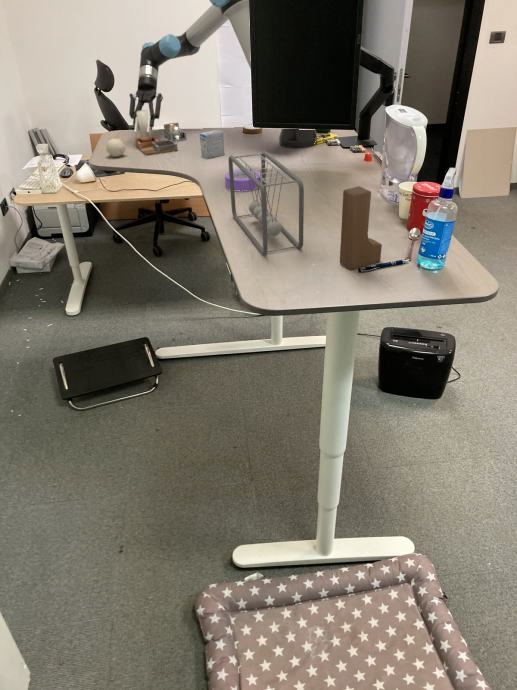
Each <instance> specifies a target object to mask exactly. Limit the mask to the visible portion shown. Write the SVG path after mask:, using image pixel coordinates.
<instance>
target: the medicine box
mask: <svg viewBox="0 0 517 690" xmlns="http://www.w3.org/2000/svg"><path fill="white" fill-rule="evenodd" d="M199 141H200V152H201V153H200V154H201V157H202V158H204V159H206V158H207V160H209V159H213V158H216V156H217V157H220V155H221V156H223V155H224V156H225V146H224V145H225V144H224V132H223V131H221V130H220V129H219V130H218V129H215V130H210V131H205V132H201V133H199ZM212 157H213V158H212Z"/></svg>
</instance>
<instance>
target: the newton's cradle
mask: <svg viewBox="0 0 517 690" xmlns="http://www.w3.org/2000/svg"><path fill="white" fill-rule="evenodd" d="M253 156H258V157H260V162H261V163H260V164H257V166H260V165H261V168H258V169H253V168H252V166H254V164H252V165H249V164H248V162H250V160H247V161H245V160H244V159H242V158H246V157H253ZM238 159H239V160H240V161H241V162H242V163H244V165H245V166H244V165H243V164H242V163H241V162H240V161H239V160H238ZM267 159H268V160H267ZM255 161H258V159H256V160H253V162H255ZM233 163H234V164H233ZM272 163H273V164H272ZM234 165H236V166H237V167H238V168H239V170H242V171H243V172H244V173H245V174H246V175H247V176H248V178H250V179H251V180H252V181H253V185H254V183H255V184H256V185H257V187H258V189H257V191H256V189H255V186H254V189H255V190H254V193H255V196H256V200H255V196H254V193H253V190H252V188H251V191H250V192H251V195H252V198H253V200H252V201H251V202H250V203H249V204H248V205H249V206H248V209H249V210H248V211H249V213H250V214H242V215H238V214H237V209H236V197H235V196H236V195H235V192H236V191H234V176H233V171H234ZM268 165H270V169H273V170H275V171H273V170H271V171H270V176H271V177H267V173H268V172H267V171H268ZM274 165H275V166H274ZM248 168H249V169H248ZM278 168H279V169H280V170H281V171H282V172H281V171H280V170H279V169H278ZM248 170H250V172H251V170H252V171H253V172H254V174H256V175H257V176H258V177H259V181H258V180H257V179H256V176H255V177H254V176H253V175H252V174H251V173H250V172H249V171H248ZM258 170H260V172H259V173H260V175H259V174H257V173H256V172H255V171H258ZM228 172H229V177H230V190H229V191H230V203H231V204H230V205H231V213H232V217H233V218H235V219H234V220H235V221H236V223H237V222H238V223H237V224H238V225H239V226H241V227H240V228H241V230H243V232H244V233H245V235H246V236H247V237H248V238H249V239H250V241H251V242H252V244H253V245H254V246H255V247H256V249H257V250H258V252H259V253H260V254H261V255H263V256H267V254H268V253H273V252H278V251H284V250H291V249H295V248H296V249H297V250H300V249H301V250H302V249H303V246H304V218H305V217H304V216H305V215H304V209H305V208H304V206H305V205H304V203H305V202H304V200H305V193H304V192H305V188H304V184H303V180H302V179H301V178H299V176H298V175H296V174H295V173H294V172H292V171H291V170H290V169H289V168H287V167H286V166H285V165H283V164H282V163H281V162H280V161H279V160H278V159H276V158H274V156H272V155H271V154H270V153H269V152H267V151H265V150H263V151H262V152H259V153H253V154H244V155H237V156H234V155H232V154H231V155H230V156H228ZM275 172H276V176H274V177H273V176H272V173H273V174H274V173H275ZM284 173H285V174H286V175H287V176H288V177H287V176H286V175H285V174H284ZM278 174H279V175H281V176H278ZM289 177H290V178H291V179H290V178H289ZM274 178H275V180H278V179H277V178H281V182H277V181H275V183H271V182H272V181H271V180H272V179H274ZM283 178H285V179H286V181H283ZM260 179H261V182H260ZM266 179H270V180H269V183H268V182H267V180H266ZM249 182H250V180H249ZM292 183H296V184H297V186H298V241H297V240H296V239H295V238H294V237H293V235H291V234H290V232H289V231H288V230H287V229H286V228H285V227H284V226H283V225H282V224H281V223H280V222H279V221H278V220H277V214H278V211H276V212H275V216H274V215H273V214H272V211H273V203H274V200H272V203H271V207H270V201H269V195H270V193H269V192H270V190H268V191H267V187H268V189H270V187H272V186H274V189H273V190H274V191H273V196H272V199H274V197H275V193H276V192H275V191H276V186H280V187H279V194H278V199H277V204H280V196H281V191H282V185H285V184H292ZM250 186H251V184H250ZM258 196H259V199H260V201H259V199H258ZM276 207H277V208H276V210H278V209H279V205H277V206H276ZM268 208H269V210H268ZM243 216H244V217H249V216H254V218H255V219H256V220H257V221H258V222H259V224H260V225H261V231H262V245H261V244H260V243H259V241H258V240H257V238H255V237H254V235H253V234H252V232H251V231H250V230H249V229H248V227H247V226H246V224H245V223H243V221H242V220H241V218H242V217H243ZM281 232H282V234H283V235H284V236H285V237H286V239H288V240H289V242H291V243H292V245H294V246H288V247H283V248H277V249H272V250H268V234H269V235H270V236H272V237H275V236H278V235H280V234H281Z"/></svg>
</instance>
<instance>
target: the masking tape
mask: <svg viewBox="0 0 517 690" xmlns="http://www.w3.org/2000/svg"><path fill="white" fill-rule="evenodd" d="M247 170H248V171H249V172H250V169H247ZM254 171H255V172H256V173H257V174H259V175H260V173H261V172H259V171H258V170H254ZM250 173H251V174H252V175H253V176H254V177H255V176H256V179H257V180H258V181H259V177H258V176H257V175H256V174H254V172H253V171H252V170H251V172H250ZM233 176H234V190H240V191H242V190H243V192H245V191H244V190H251V188H252V189H254V186H255V188H257V185H256V184H255V183H254V185H253V181H252V180H251V179H250V178H248V176H247V175H246V174H245V173H244V172H243V171H242V170H241V169H233ZM224 179H225V180H224V183H225V188H226V187H227V188H228V189H227V188H226V189H227V190H229V189H230V177H229V171H228V172H226V173H225V176H224ZM249 180H250V182H249ZM260 182H261V183H262V180H261V179H260ZM250 184H251V186H250Z"/></svg>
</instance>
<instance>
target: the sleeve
mask: <svg viewBox="0 0 517 690" xmlns="http://www.w3.org/2000/svg"><path fill="white" fill-rule="evenodd" d="M136 113H137V119H138V124H139V136H140V138H141V141H143V142H148V141H151V140H152V137H153V135H152V134H151V135H148V133H147V125H148V117H149V112H148V110H146V109H142V110H140V111H137V112H136ZM140 138H139V139H140Z"/></svg>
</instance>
